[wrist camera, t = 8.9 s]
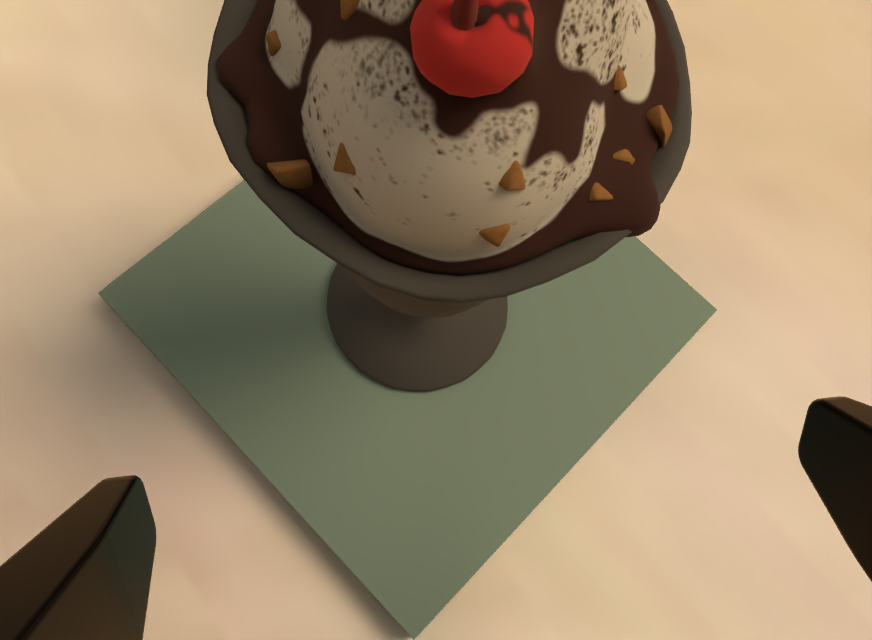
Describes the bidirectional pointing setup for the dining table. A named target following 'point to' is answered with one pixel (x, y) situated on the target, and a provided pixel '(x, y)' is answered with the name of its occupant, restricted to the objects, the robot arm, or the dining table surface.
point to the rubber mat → (399, 393)
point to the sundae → (449, 153)
